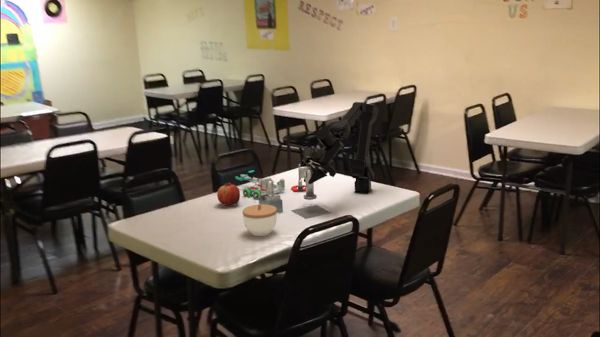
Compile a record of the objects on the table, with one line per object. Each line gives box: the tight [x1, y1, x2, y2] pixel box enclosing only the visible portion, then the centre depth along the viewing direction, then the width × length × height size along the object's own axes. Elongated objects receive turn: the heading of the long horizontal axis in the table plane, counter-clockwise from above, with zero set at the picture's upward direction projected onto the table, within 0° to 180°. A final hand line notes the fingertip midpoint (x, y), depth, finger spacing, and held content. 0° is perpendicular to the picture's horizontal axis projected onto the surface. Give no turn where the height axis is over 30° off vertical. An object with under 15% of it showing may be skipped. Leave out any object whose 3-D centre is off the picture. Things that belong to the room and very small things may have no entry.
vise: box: [258, 177, 284, 213], centre depth 243 cm, size 7×10×14 cm
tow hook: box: [290, 163, 306, 193], centre depth 271 cm, size 8×13×9 cm
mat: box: [290, 204, 332, 219], centre depth 240 cm, size 12×12×1 cm
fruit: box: [216, 181, 241, 207], centre depth 252 cm, size 11×10×10 cm
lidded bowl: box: [241, 203, 278, 237], centre depth 217 cm, size 13×13×11 cm
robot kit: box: [235, 170, 286, 200], centre depth 270 cm, size 19×25×9 cm
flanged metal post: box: [300, 166, 318, 201], centre depth 237 cm, size 6×5×13 cm
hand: (306, 182), depth 237 cm, fingers closed on flanged metal post, 3 cm apart
